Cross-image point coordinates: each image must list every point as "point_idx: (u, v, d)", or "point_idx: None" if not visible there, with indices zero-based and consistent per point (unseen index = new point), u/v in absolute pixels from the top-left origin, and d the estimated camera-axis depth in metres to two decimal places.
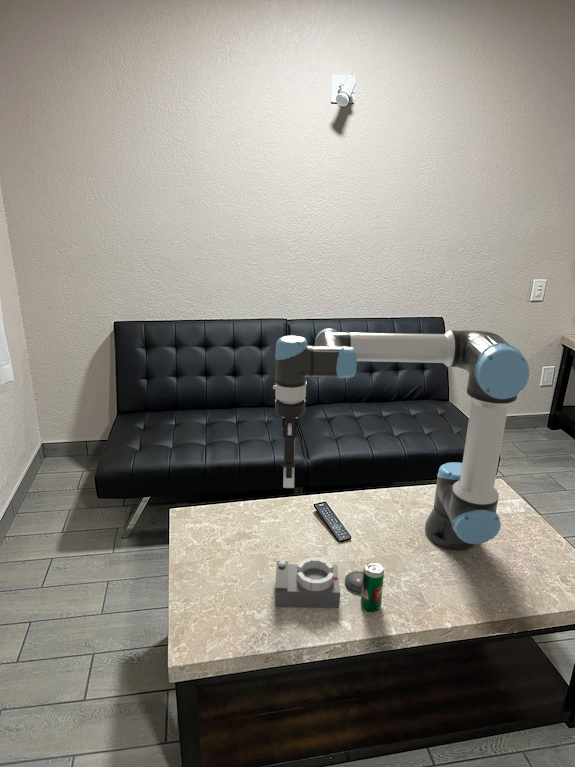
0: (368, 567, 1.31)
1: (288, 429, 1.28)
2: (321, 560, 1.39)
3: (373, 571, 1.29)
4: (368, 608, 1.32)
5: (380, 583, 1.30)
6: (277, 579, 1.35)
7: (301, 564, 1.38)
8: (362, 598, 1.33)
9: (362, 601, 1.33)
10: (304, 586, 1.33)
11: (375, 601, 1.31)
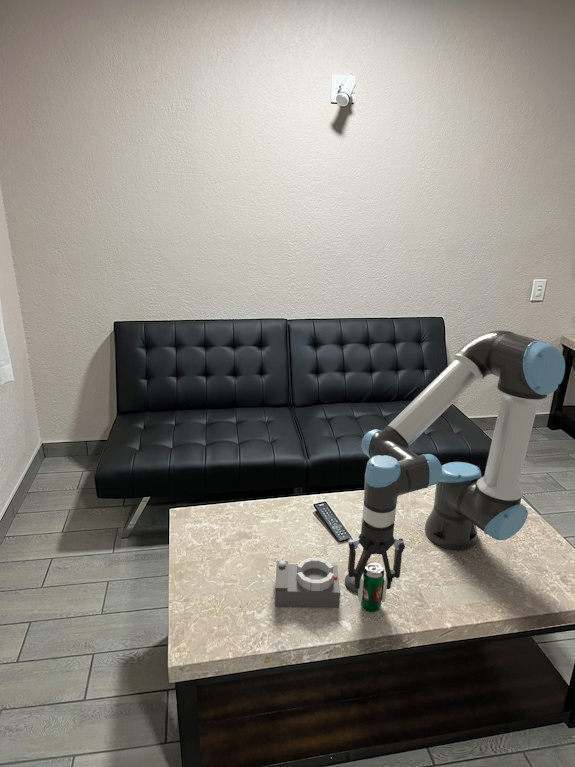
0: (368, 567, 1.31)
1: (348, 542, 1.28)
2: (321, 560, 1.39)
3: (373, 571, 1.29)
4: (368, 608, 1.32)
5: (380, 583, 1.30)
6: (277, 579, 1.35)
7: (301, 564, 1.38)
8: (362, 598, 1.33)
9: (362, 601, 1.33)
10: (304, 586, 1.33)
11: (375, 601, 1.31)
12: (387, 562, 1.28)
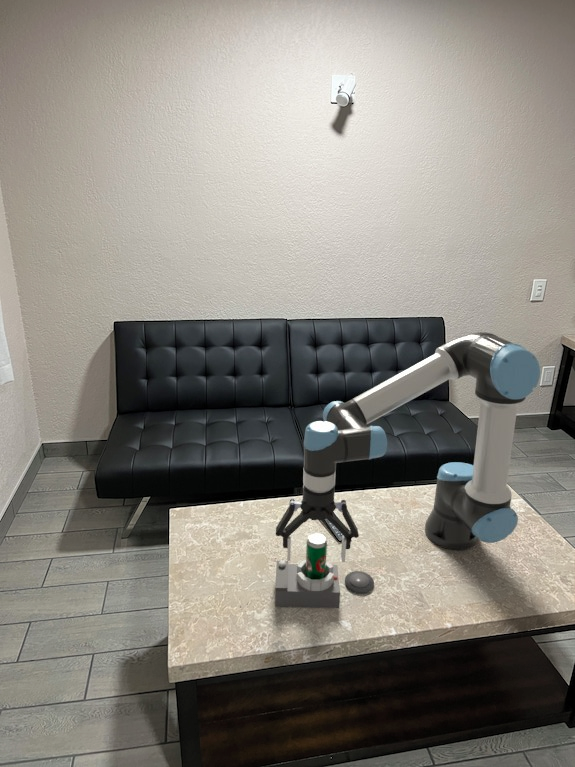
0: (311, 538, 1.33)
1: (290, 502, 1.29)
2: None
3: (315, 542, 1.31)
4: None
5: (323, 553, 1.32)
6: (277, 579, 1.35)
7: (301, 564, 1.38)
8: (306, 569, 1.35)
9: (306, 572, 1.35)
10: (304, 586, 1.33)
11: (318, 572, 1.33)
12: (338, 524, 1.29)
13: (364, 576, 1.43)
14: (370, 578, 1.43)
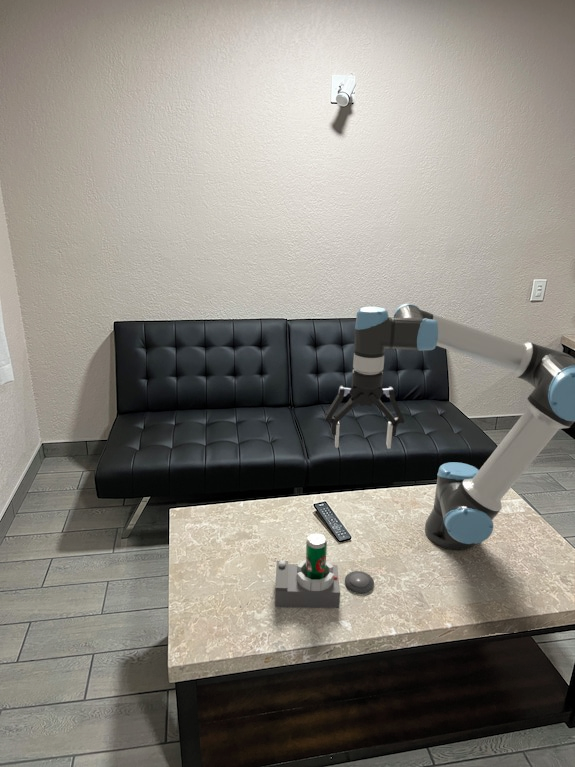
0: (311, 538, 1.33)
1: (339, 388, 1.35)
2: None
3: (315, 542, 1.31)
4: None
5: (323, 553, 1.32)
6: (277, 579, 1.35)
7: (301, 564, 1.38)
8: (306, 569, 1.35)
9: (306, 572, 1.35)
10: (304, 586, 1.33)
11: (318, 572, 1.33)
12: (385, 409, 1.36)
13: (364, 576, 1.43)
14: (370, 578, 1.43)
